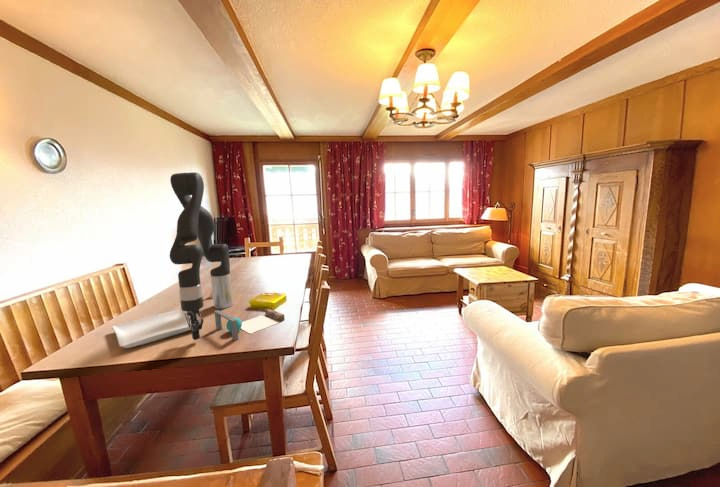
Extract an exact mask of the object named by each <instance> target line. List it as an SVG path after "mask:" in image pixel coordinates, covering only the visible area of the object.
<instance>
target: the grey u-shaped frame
mask: <svg viewBox="0 0 720 487" xmlns="http://www.w3.org/2000/svg"><path fill="white" fill-rule="evenodd" d="M222 318H224V319H226V320H227V321H228V320H229V321H231V331H232V332H231V339H232V340H233V341H238V340H239V332H238V331H239V330H238V328H237V320H236V319H234V317H232V316H230V315H228V314H226V313H225V312H222V311H221V310H219V309H216V310H214V321H215V329H216V330H218V331H220V330H223V326H222Z"/></svg>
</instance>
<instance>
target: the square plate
mask: <svg viewBox="0 0 720 487" xmlns="http://www.w3.org/2000/svg"><path fill="white" fill-rule="evenodd" d="M186 313H187V311H182V310H181V309H177V310H172V311H168V312H163V313H159V314H155V315H149V316H145V317H142V318H138V319H134V320H130V321H128V322H123V323H119V324H116V325H112V327H111V329H112V330H113V332H114V334H115V336H116V339H117V342H118V346H119V347H120V348H121V347H122V348H124V349H130V348H131V349H132V348H134V347H139V346H143V345H147V344H150V343H153V342H157V341H160V340H163V339H167V338H169V337H174V336H177V335H180V334H184V333H186V332H189V331H192V330H191V329H190V327H189V326H188V323H187V320H186V317H185V314H186Z"/></svg>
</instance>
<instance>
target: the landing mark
mask: <svg viewBox="0 0 720 487" xmlns="http://www.w3.org/2000/svg"><path fill="white" fill-rule="evenodd" d="M241 322H242V326H241V328H240V330H241V331H244V332H245V333H247V334H249V335H251V334H255V333H257V332H259V331H262V330H265V329H267V328H270V327H272V326H274V325H278V324H279V323H280V321H278V320H276V319H272V318H271V317H269V316H268V317H267V315H263V314H262V315H258V316H256V317H252V318H249V319H247V320H244V321H241Z"/></svg>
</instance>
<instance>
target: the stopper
mask: <svg viewBox="0 0 720 487" xmlns="http://www.w3.org/2000/svg"><path fill="white" fill-rule="evenodd" d="M264 312H265V316H268V317H269V318H271V319H272V318H273V320H276V321H278V322H283V321H285V314H284V313H281V312H279V311H276V310H275V309H274V310H271V309H266V310H264Z"/></svg>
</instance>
